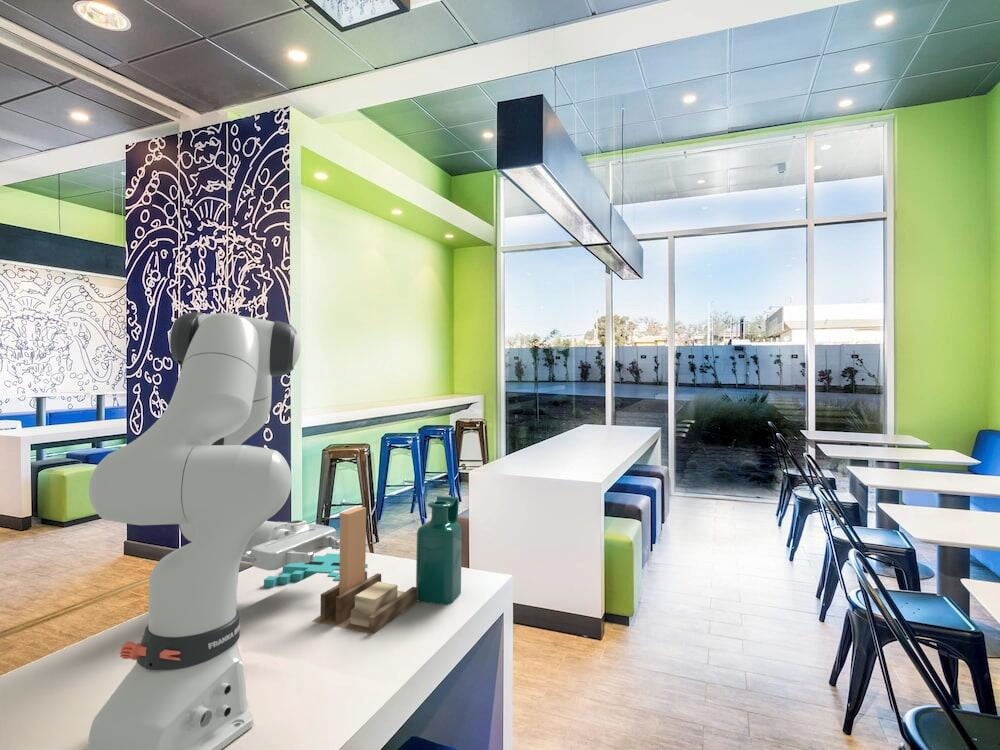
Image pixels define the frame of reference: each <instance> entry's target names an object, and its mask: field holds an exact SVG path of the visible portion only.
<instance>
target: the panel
mask: <svg viewBox="0 0 1000 750" xmlns="http://www.w3.org/2000/svg"><path fill="white" fill-rule="evenodd" d="M339 539H340V549H339V554H340V567H339V570H338V573H339V575H338V576H339V581H338V584H339V595H341V594H342V593H344V592H346V591H348V590H349V589H351V588H353V587H355V586H356V585H358V584H360V583H361V582H363V581H365V571H366V568H365V564H366V556H367V554H366V550H367V549H366V547H367V546H366V545H367V542H366V541H367V540H366V539H367V507H363V506H356V507H354V508H352V509H351V508H350V509H349V510H346V511H343V512H340V513H339Z"/></svg>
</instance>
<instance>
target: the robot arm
mask: <svg viewBox="0 0 1000 750" xmlns="http://www.w3.org/2000/svg"><path fill="white" fill-rule="evenodd" d="M168 345H169V350H170V353H171V357H172V359H173V361H175V362H176V364H178V365H179V366H181V369H180V371H179V376H178V380H177V383H176V385H175V387H174V390H173V393H172V396H171V399H170V400H169V401H170V402H169V403H168V405H167V407H166V409H165V410H164V412H163V413H162V414H161V415H160V416H159V418H158V419H157V420H156V421H155V422H154V423H153V424H152V425H151V426H150V427H149V428H148V429H147V430H146V431H144V433H142V434H141V435H140V436H138V437H137V438H136V439H134V440H133V441H131V442H130V443H128V444H126V445H123V446H122V447H120V448H119V449H116V450H114V451H112V452H109V453H107V455H106V456H104V458H102V460H101V461H99V463H98V464H97V466H96V467H95V468H94V470H93V472H92V474H91V477H90V480H89V483H88V497H89V501H90V503H91V505H92V508H93V510H94V511H95V513H96V514H97V515H98V516H99V517H100V519H102V520H104V521H109V522H114V523H121V524H127V525H136V526H156V525H157V526H158V525H159V526H160V525H178V528H179V531H180V533H181V536H182V537H183V538H184V539H185V541H187V542H189V543H188V544H185V545H183V546H181V547H179V548H177V549H175V550H173V551H171V552H170V553H168V554H166V555H165V556H164V557H162V558H161V559H160V560H159V561H157V563H156V564H155V565H154V567H153V568H152V570H151V572H150V575H149V577H148V578H149V579H148V614H147V615H148V624H147V625H146V627H144V629H145V630H144V631H143V635H142V636H141V640H140V642H138V643H135V642H133V641H127V642H125V643H124V644H123V645H122V646H121V648H120V650H119V655H120V656H119V657H120V658H121V659H124V660H129V659H131V660H133V661H135V660H136V662H135V663H134V665H133V666H132V668H131V669H130V670H129V672H127V675H126V676H125V677H124V678H123V680H122V681H121V683H120V684H119V685H118V686H117V687H116V689H115V690H114V692H113V693H112V694H111V695H110V697H109V698H108V700H106V702H105V703H104V705H103V706H102V707H101V709H100V710H99V711H98V713H97V714H96V715H95V716H94V718H93V720H92V723H91V726H90V729H89V734H88V740H87V746H86V747H87V748H85V749H84V750H222V749H224V748H225V747H226V746H228V745H229V744H231V743H232V742H233V741H235V740H236V739H237V738H239V737H240V736H241V735H243V734H244V733H245V732H247V731H248V730H249V729H251V728H253V726H254V724H255V723H254V715H253V713H252V712H251V710H249V708H248V707H249V703H248V697H247V696H248V695H247V685H246V675H245V667H244V662H243V660H242V659H243V658H242V657H241V654H240V650H239V647H238V646H239V645H238V641H239V639H240V636H241V631H240V630H241V621H240V611H239V610H238V609H237V601H238V600H237V598H238V580H239V570H240V565H241V560H242V561H245V562H250V566H252V567H254V568H258V569H262V570H265V571H276V570H279V569H281V568H282V569H283V567H284V566H286V565H289V564H291V563H300V562H303V563H309V562H311V561H313V557H314V556H315V555H314V554H316V553H318V552H320V551H323V550H325V549H327V548H329V547H330V548H331V550H336V551H338V550H340V538H337V530H336V529H335V528H334V527H332V526H328V525H323V524H319V523H307V520H304V519H303V520H302V519H297V520H291V521H270V520H269V519H270V518H272V517H274V516H275V515H276V514H277V513H278V512H279V511H280V510H281V509H282V508H283V506H284V505H285V504H286V503H287V502H286V501H287V500H288V498H289V497H290V496H289V495H290V493H291V489H292V482H293V481H292V479H293V477H292V472H291V469H290V466H289V464H288V462H287V460H286V459H285V457H284V456H283V455H282V454H281V452H279V451H278V450H275V449H271V448H267V447H266V448H265V447H260V446H254V445H250V444H249V445H248V444H243V443H245V442H246V441H247V440H248V439H249V438H250V437H252V436H253V435H255V434H256V433H257V432H258V431H260V429H261V428H262V427H263V426H264V425H265V424H266V422H267V420H268V418H269V414H270V411H271V407H272V392H273V391H272V388H273V384H272V383H273V379H272V378H273V377H282V376H285V375H287V374H289V373H291V372H292V371H293V370H294V368H295V366H296V364H297V363H298V361H299V358H300V355H301V354H300V353H301V344H300V338H299V336H298V331H297V330H296V328H294V326H293V325H291V324H289V323H287V322H283V321H280V320H275V321H271V320H268V319H263V318H257V317H251V316H244V315H240V314H236V313H231V312H218V313H203V312H202V311H201V312H200V311H196V312H195V311H194V312H188V313H183V314H182V315H180V316H179V317H177V318H176V319H175V320H174V322H173V324H172V326H171V329H170V332H169V337H168Z"/></svg>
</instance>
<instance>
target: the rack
mask: <svg viewBox="0 0 1000 750" xmlns="http://www.w3.org/2000/svg"><path fill="white" fill-rule="evenodd" d="M377 582H382V573H378V572H377V573H376V574H374V575H372V576H370V577H368V571H366V570H365V581H363V582H361V583H360V584H358V585H356V586H355V587H353V588H351V589H349V590H348V591H346V592H344V593H342V594H341V595H339V585H338V584H337V585H335V586H333V587H331V588H330V589H327V590H326V591H324V592H322V593H321V594H320V614H319V615H320V616H318V617H316V618H314V619H313V620H312V622H313V623H319V624H324V625H327V626H333V627H337V628H342V629H347V630H352V631H356V632H361V633H364V634H365V633H366V634H370V635H375V634H376V633H377V632H379V631H380V630H381V629H382V628H384V627H385V626H386V625H388V624H389V623H390V622H392V621H393V620H395V619H396V618H398V617H399V616H400V615H401V614H403V613H404V612H405V611H406V610H408V609H409V608H411V607H412V606H413V605H415V604H416V603H417V602H418V601H417V587H416V586H412V587H410V588H408V589H407V590H406V591H403V592H404V593H403V594H402V595H400V596H399V597H397V598H396V599H394V600H393V601H391V602H390V603H388V604H387V605H386V606H384V607H383V608H381V609H380V610H378V611H377V612H375V613H374V614H372V615H371V616H370V617H369V627H365V626H360V625H355V624H351V610H352V609H354V608H355V595H357V594H359V593H360V592H362V591H364V590H365V589H367V588H369V587H370V586H372V585H374V584H375V583H377Z"/></svg>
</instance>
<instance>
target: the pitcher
mask: <svg viewBox="0 0 1000 750" xmlns="http://www.w3.org/2000/svg"><path fill="white" fill-rule="evenodd" d="M459 502H460V499H459V497H458V496H457V497H455V496H444V495H437V496H436V500H433V501H429V502H428V503H427V507H429V508H431V518H430V520H428V521H427V522H424V523H423V524H422V525H420V526H419V527H418V529H417V531H416V557H415V559H416V566H415V567H416V570H415V574H416V575H415V577H416V578H415V587H417V602H419V603H420V602H421V603H427V604H433V605H434V604H435V605H444V606H445V605H450V604H453V603H454V602H455V601H456V600H457V598H459V596H461V594H462V548H463V547H462V545H463V543H462V541H463V540H462V539H463V538H462V537H463V536H462V535H463V534H462V533H463V531H462V530H463V529H462V526H461V524H460V523H459V522H457V521H458V517H459V505H460V504H459Z"/></svg>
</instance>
